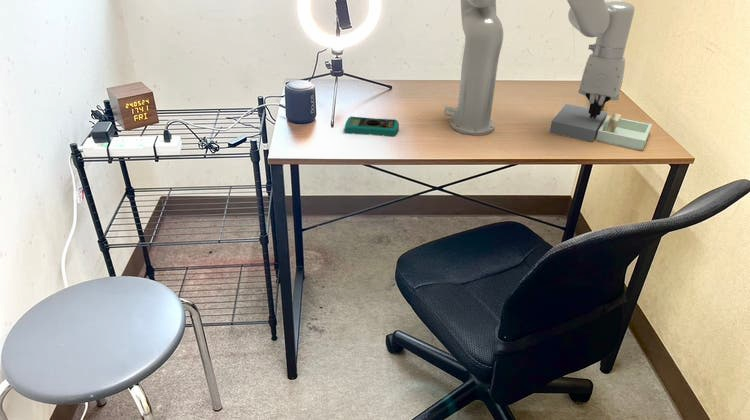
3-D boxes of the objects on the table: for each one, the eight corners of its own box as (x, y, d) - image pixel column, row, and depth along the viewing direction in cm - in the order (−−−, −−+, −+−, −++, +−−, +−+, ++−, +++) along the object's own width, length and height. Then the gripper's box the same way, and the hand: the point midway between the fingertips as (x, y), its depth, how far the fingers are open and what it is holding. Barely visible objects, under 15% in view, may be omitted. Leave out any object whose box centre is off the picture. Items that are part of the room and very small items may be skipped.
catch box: (595, 140, 152) (598, 130, 151) (605, 125, 162) (607, 115, 160) (642, 151, 147) (645, 140, 146) (649, 134, 157) (652, 124, 155)
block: (610, 118, 151) (617, 121, 150) (613, 112, 155) (621, 115, 154) (603, 134, 154) (611, 137, 153) (607, 128, 158) (614, 131, 157)
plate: (549, 132, 157) (551, 121, 155) (563, 114, 168) (566, 103, 166) (592, 142, 151) (595, 130, 150) (604, 123, 163) (607, 111, 161)
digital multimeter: (397, 138, 153) (397, 128, 151) (344, 134, 154) (343, 124, 152) (399, 128, 159) (399, 118, 157) (348, 124, 160) (348, 115, 159)
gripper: (576, 50, 147) (563, 115, 157) (636, 59, 141) (618, 126, 150) (583, 44, 153) (569, 107, 162) (640, 52, 146) (623, 117, 156)
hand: (593, 116), depth 156 cm, fingers closed
